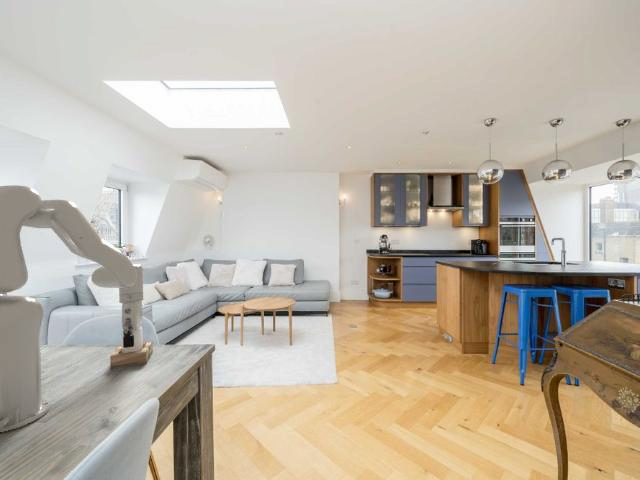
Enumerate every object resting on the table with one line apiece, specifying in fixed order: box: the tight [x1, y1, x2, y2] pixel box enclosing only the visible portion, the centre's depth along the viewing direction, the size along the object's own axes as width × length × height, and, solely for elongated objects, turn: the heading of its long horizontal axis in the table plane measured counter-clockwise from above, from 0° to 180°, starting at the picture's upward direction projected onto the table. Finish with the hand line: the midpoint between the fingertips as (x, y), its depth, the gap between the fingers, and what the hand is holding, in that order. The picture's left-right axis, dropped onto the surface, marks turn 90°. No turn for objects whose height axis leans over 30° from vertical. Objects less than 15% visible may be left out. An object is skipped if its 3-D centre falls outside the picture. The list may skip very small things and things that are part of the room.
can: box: [121, 324, 143, 353], centre depth 107 cm, size 6×6×12 cm
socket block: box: [109, 341, 154, 370], centre depth 107 cm, size 11×11×4 cm
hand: (132, 342), depth 107 cm, fingers open, 9 cm apart
